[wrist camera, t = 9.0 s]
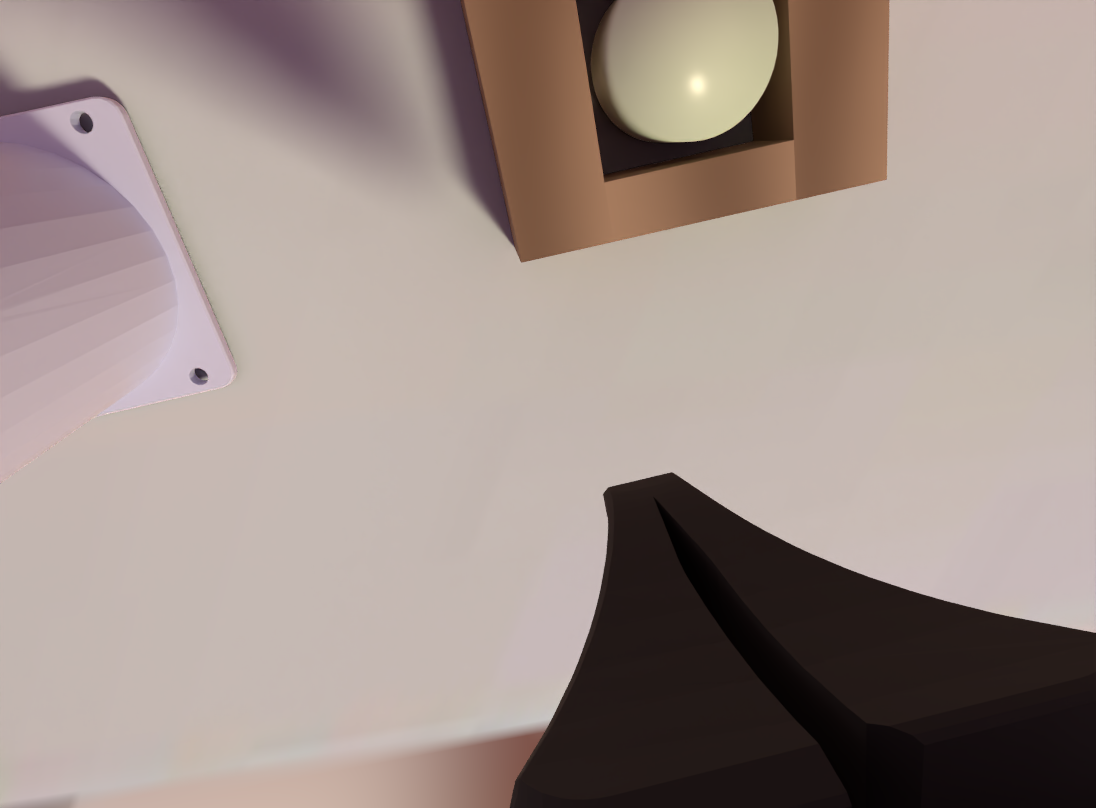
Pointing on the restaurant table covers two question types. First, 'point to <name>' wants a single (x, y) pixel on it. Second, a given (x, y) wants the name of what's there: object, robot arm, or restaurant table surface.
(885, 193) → the restaurant table surface
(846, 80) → the panel
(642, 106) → the sage button
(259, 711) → the restaurant table surface
